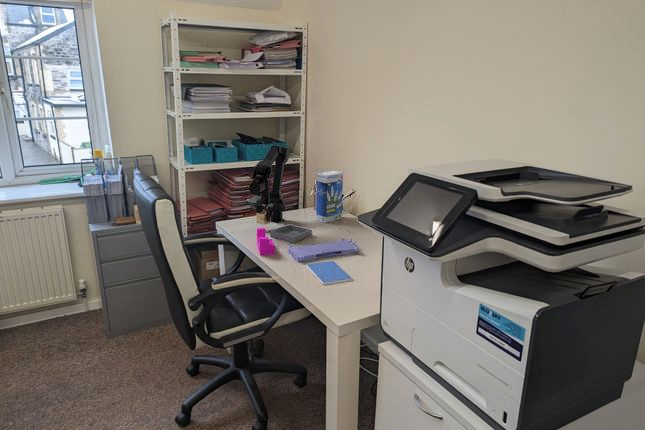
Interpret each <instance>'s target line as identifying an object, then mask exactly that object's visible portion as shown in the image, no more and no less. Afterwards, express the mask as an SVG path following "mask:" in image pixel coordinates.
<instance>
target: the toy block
mask: <svg viewBox="0 0 645 430" xmlns="http://www.w3.org/2000/svg"><path fill="white" fill-rule="evenodd" d="M256 246H257V250H258V253H259V256H273V255H274V256H275V255H276V254H275V253H276V251H275V250H276V249H275V248H276V245H275V243H274V241H273V239H272V238H269V237H268V236H267V235H266V227H256Z"/></svg>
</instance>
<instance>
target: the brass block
mask: <svg viewBox="0 0 645 430" xmlns="http://www.w3.org/2000/svg"><path fill="white" fill-rule="evenodd" d="M255 213H256V212H255ZM255 215H256V224H259V225H264V226H265V225H268V224H271V223H272V221H271V218H270V220H269V222H267V220H266V211H265V210H262V212H259V213H256V214H255Z"/></svg>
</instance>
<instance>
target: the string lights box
mask: <svg viewBox="0 0 645 430" xmlns="http://www.w3.org/2000/svg"><path fill="white" fill-rule="evenodd" d="M343 184H344V171H343V172H342V171H337V170H331V171H330V170H329V171H324V172H319V173H317V174H316V202H315V203H316V206H315V207H316V209H315V210H316V211H315V212H316V213H315V221H317V222H321V223H325V224H327V223H331V222H334V221H338V220H341V219H342V215H343V213H342V212H343V211H342V208H343V187H344V185H343Z"/></svg>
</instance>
